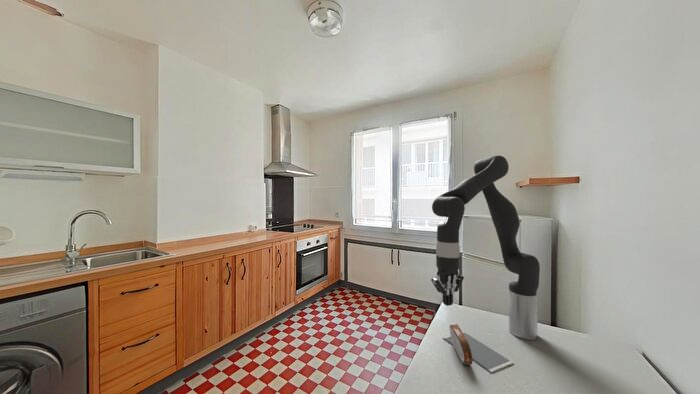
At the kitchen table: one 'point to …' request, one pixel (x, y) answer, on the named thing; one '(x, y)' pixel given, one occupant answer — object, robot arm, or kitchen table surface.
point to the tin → (461, 344)
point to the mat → (484, 354)
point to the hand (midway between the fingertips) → (447, 304)
